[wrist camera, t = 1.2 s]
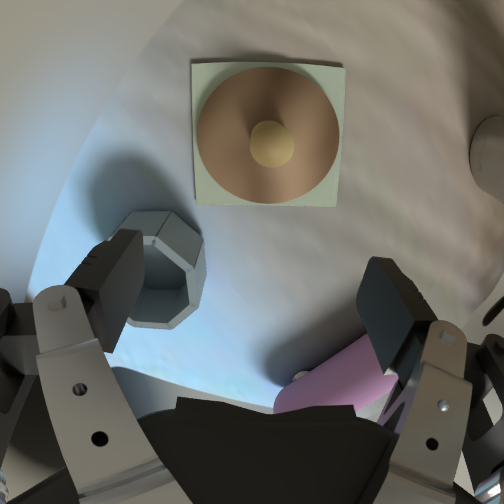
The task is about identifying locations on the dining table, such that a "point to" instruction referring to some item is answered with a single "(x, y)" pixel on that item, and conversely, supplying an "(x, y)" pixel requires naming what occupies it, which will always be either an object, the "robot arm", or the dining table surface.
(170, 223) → the cup
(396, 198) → the dining table surface
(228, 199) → the mat
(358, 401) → the toy
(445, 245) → the dining table surface
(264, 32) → the dining table surface
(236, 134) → the lid
